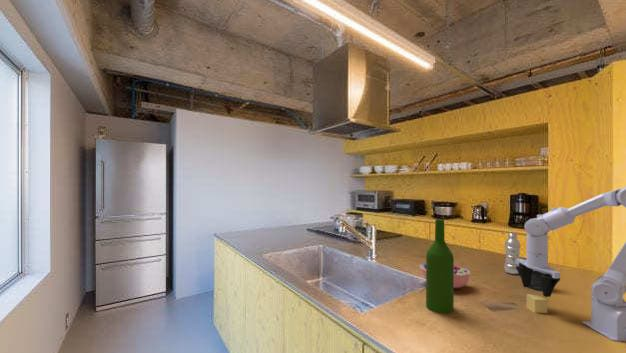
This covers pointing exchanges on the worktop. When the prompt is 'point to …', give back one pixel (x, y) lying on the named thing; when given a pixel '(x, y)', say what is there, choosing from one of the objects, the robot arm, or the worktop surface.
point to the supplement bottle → (536, 281)
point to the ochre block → (536, 303)
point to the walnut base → (500, 306)
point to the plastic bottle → (512, 253)
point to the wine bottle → (439, 274)
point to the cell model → (459, 275)
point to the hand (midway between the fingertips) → (536, 291)
